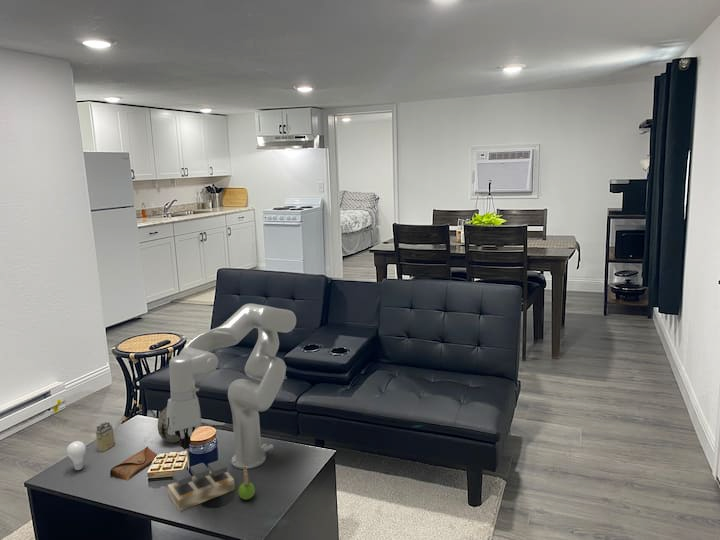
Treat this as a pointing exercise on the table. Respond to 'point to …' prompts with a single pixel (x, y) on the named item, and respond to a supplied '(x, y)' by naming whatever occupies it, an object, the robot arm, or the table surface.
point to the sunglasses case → (133, 464)
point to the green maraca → (246, 487)
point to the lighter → (105, 436)
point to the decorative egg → (166, 428)
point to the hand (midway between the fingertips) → (185, 447)
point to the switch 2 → (217, 468)
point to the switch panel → (200, 490)
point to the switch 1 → (182, 477)
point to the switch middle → (200, 470)
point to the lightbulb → (76, 453)
